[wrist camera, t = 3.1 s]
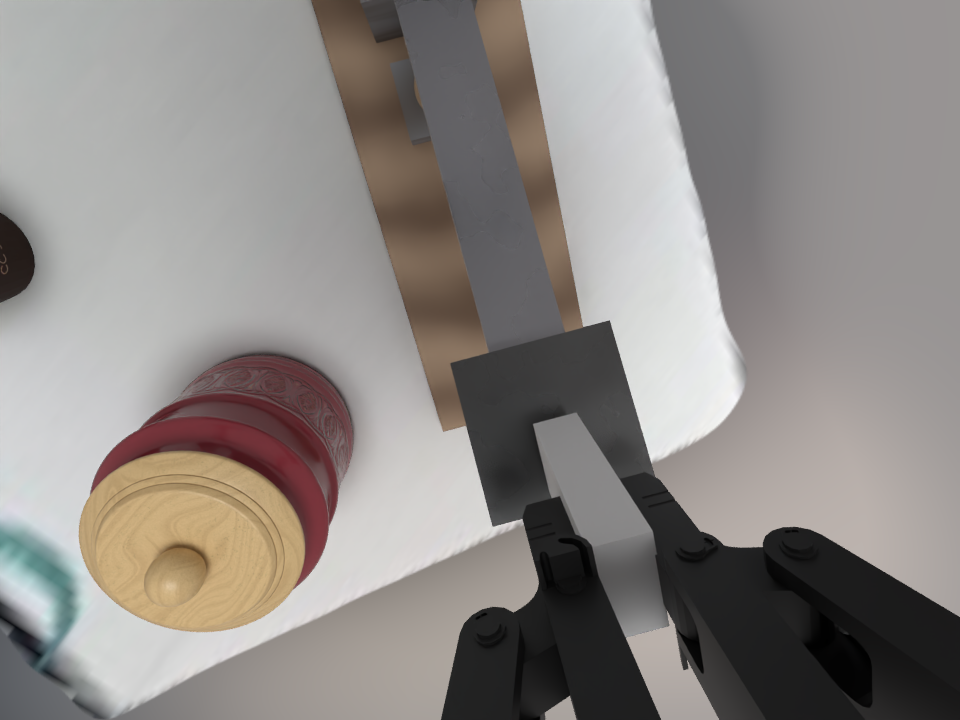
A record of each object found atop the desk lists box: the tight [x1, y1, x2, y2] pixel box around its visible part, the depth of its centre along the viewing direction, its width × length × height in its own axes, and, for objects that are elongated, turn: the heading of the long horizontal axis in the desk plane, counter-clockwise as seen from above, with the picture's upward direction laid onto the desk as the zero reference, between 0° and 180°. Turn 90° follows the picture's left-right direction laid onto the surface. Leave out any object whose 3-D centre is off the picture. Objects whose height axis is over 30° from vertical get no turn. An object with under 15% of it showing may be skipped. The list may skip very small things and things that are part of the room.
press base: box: [311, 0, 583, 432], centre depth 31 cm, size 32×12×14 cm, turn 14°
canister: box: [79, 355, 353, 632], centre depth 33 cm, size 13×13×18 cm
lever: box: [394, 0, 655, 526], centre depth 21 cm, size 26×6×3 cm, turn 14°
